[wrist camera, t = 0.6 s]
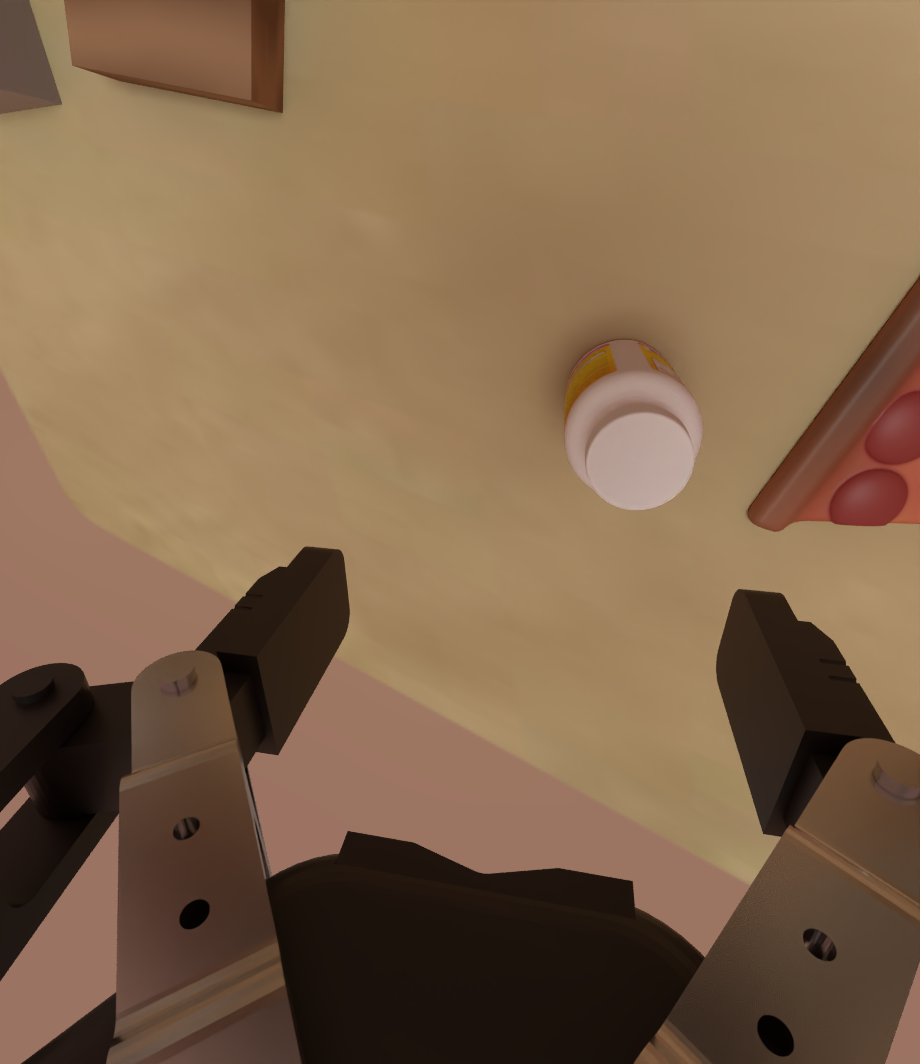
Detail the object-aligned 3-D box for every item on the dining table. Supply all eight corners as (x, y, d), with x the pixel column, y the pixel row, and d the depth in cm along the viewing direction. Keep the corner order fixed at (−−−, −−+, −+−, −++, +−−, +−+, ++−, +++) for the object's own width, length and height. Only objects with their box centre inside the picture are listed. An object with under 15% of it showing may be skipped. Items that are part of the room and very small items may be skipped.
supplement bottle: (561, 438, 39) (555, 523, 27) (570, 335, 36) (568, 385, 24) (664, 444, 38) (702, 536, 26) (683, 339, 34) (734, 392, 23)
